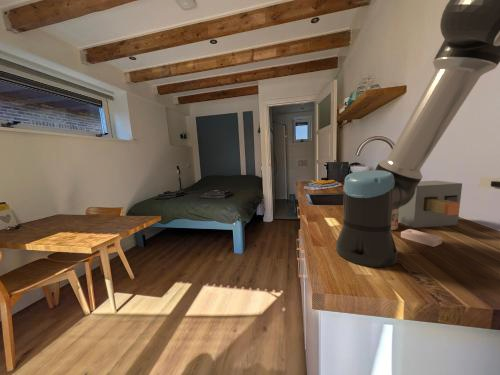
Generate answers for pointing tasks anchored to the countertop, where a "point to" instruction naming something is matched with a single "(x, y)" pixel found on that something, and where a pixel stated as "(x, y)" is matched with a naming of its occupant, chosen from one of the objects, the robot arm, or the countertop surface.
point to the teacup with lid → (394, 219)
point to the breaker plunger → (441, 206)
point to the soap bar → (421, 237)
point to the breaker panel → (421, 217)
